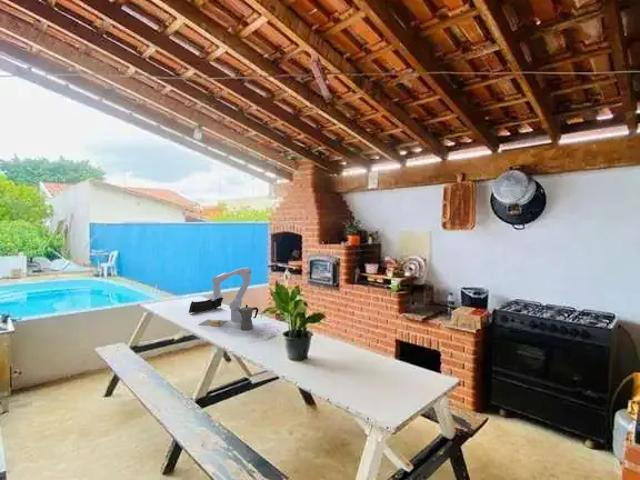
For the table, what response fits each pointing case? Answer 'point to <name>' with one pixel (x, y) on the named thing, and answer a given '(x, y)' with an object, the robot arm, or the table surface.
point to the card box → (215, 322)
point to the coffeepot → (247, 317)
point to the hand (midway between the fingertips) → (217, 307)
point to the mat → (207, 323)
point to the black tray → (201, 306)
